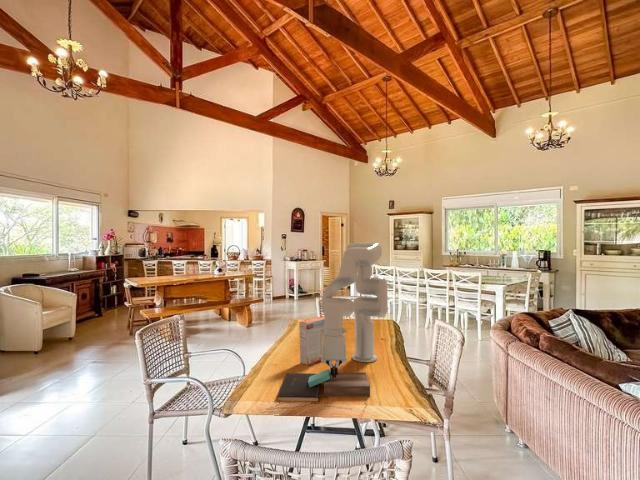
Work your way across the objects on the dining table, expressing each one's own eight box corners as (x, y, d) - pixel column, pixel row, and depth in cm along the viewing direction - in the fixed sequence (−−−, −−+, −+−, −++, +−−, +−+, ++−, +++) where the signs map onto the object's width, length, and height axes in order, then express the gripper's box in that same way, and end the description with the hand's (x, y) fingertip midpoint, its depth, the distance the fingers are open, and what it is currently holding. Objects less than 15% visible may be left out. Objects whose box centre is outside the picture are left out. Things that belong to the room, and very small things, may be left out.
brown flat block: (323, 382, 152) (323, 372, 152) (365, 381, 152) (365, 372, 151) (324, 396, 138) (323, 386, 138) (370, 396, 138) (370, 386, 137)
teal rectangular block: (311, 381, 148) (309, 376, 148) (330, 373, 148) (328, 368, 148) (309, 387, 142) (307, 382, 142) (330, 378, 142) (328, 374, 142)
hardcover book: (277, 402, 135) (277, 396, 135) (286, 378, 158) (286, 373, 158) (318, 402, 134) (318, 396, 134) (322, 378, 157) (322, 373, 157)
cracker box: (319, 356, 185) (319, 316, 185) (327, 359, 180) (327, 318, 180) (299, 363, 175) (298, 321, 175) (307, 366, 171) (307, 323, 170)
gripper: (351, 329, 148) (351, 372, 148) (315, 329, 148) (315, 373, 148) (352, 334, 141) (353, 380, 141) (315, 334, 141) (315, 380, 141)
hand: (334, 376), depth 144 cm, fingers closed
